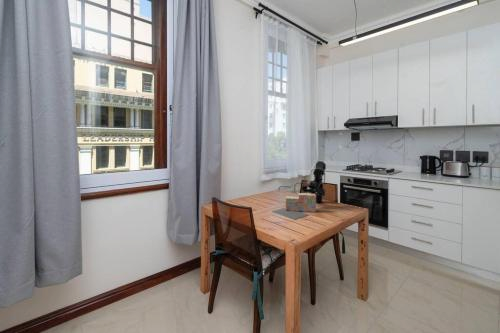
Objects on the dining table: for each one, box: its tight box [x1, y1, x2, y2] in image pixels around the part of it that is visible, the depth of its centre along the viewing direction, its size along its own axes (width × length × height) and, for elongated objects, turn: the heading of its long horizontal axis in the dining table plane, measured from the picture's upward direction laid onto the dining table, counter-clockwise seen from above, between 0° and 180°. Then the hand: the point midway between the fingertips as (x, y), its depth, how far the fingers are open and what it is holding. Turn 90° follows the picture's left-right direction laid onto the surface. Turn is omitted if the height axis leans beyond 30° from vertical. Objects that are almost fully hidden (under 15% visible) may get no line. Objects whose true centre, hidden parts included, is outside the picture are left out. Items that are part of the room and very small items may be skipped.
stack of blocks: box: [284, 192, 317, 213], centre depth 177 cm, size 21×6×12 cm, turn 84°
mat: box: [271, 207, 309, 220], centre depth 171 cm, size 14×22×1 cm, turn 38°
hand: (306, 198), depth 182 cm, fingers closed
